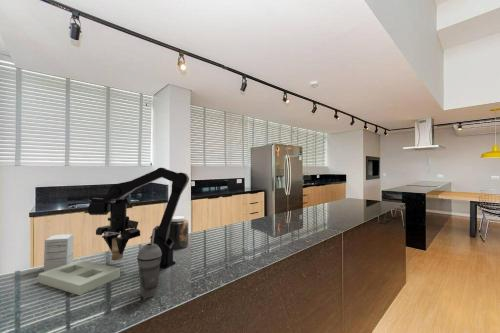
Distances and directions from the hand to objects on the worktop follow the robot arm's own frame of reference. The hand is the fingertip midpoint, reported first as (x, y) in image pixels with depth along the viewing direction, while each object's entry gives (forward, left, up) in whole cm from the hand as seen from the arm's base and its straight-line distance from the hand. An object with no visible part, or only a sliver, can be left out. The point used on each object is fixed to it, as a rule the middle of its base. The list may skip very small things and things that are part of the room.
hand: (117, 253), depth 93 cm
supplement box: (+20, +10, -6) cm, 23 cm away
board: (+2, +13, -6) cm, 14 cm away
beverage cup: (-28, +11, -6) cm, 31 cm away
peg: (0, 0, -2) cm, 2 cm away
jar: (-4, -31, -6) cm, 32 cm away
